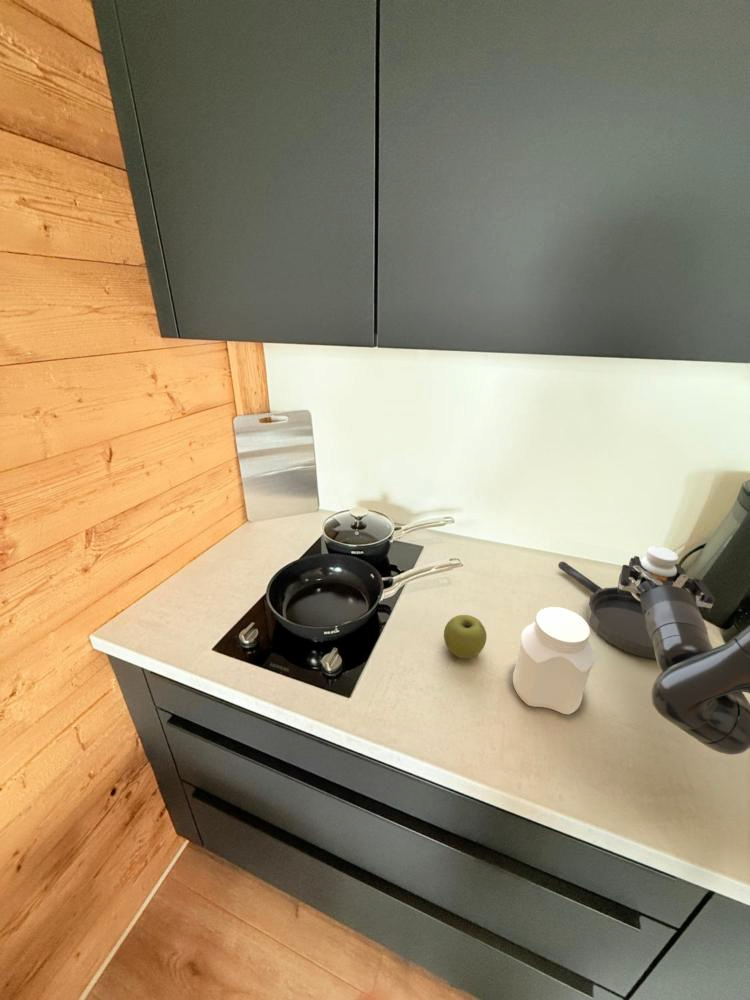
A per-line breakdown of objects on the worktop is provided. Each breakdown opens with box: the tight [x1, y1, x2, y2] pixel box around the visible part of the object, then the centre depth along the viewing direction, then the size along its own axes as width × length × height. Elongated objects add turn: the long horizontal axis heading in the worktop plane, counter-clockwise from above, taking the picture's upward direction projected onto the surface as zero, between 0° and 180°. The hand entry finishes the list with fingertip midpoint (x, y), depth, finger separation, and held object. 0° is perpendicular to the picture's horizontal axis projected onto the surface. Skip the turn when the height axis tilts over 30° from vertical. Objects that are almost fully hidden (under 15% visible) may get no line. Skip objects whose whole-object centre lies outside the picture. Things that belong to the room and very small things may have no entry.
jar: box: [512, 606, 596, 716], centre depth 72 cm, size 12×10×15 cm
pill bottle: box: [631, 545, 679, 601], centre depth 78 cm, size 6×6×10 cm
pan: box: [585, 586, 656, 660], centre depth 88 cm, size 18×18×3 cm
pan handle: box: [557, 561, 603, 594], centre depth 101 cm, size 2×13×2 cm, turn 22°
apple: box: [443, 614, 487, 659], centre depth 82 cm, size 8×8×7 cm
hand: (654, 564), depth 79 cm, fingers closed on pill bottle, 5 cm apart
